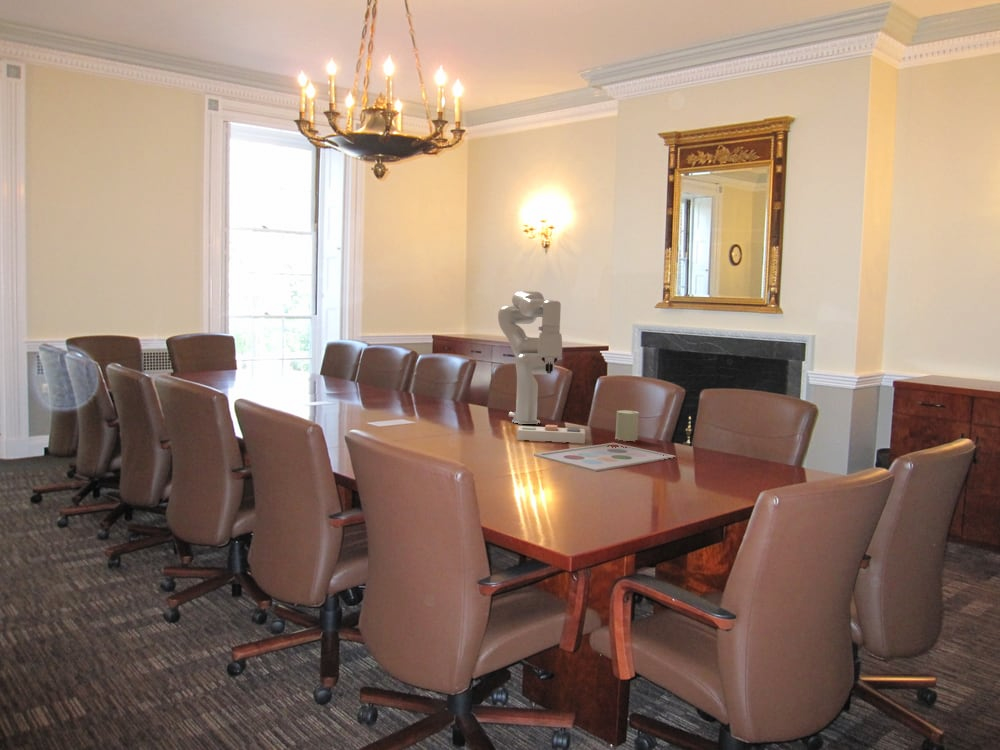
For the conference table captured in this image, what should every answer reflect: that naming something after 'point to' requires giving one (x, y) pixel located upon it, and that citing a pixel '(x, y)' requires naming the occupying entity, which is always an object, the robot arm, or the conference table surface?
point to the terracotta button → (551, 427)
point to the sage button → (528, 427)
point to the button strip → (551, 435)
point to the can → (627, 425)
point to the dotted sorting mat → (604, 456)
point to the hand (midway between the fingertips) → (549, 373)
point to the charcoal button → (573, 430)
